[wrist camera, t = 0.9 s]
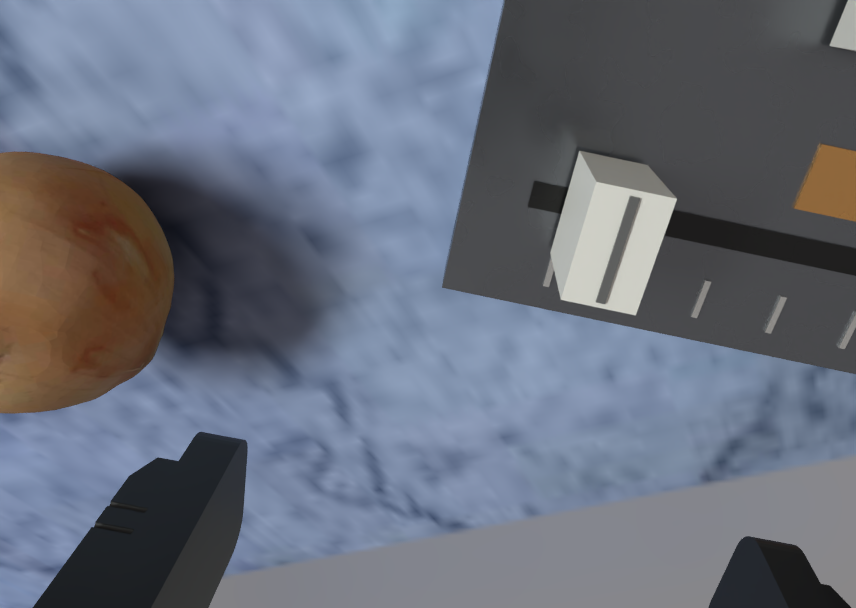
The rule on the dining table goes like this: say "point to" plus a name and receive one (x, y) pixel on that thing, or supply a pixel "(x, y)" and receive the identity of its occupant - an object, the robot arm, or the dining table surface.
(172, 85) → the dining table surface
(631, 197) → the fader
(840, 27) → the fader
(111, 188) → the onion
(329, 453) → the dining table surface
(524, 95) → the console
